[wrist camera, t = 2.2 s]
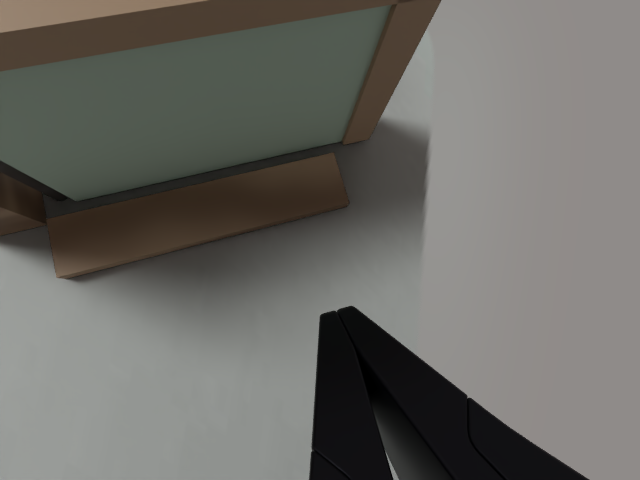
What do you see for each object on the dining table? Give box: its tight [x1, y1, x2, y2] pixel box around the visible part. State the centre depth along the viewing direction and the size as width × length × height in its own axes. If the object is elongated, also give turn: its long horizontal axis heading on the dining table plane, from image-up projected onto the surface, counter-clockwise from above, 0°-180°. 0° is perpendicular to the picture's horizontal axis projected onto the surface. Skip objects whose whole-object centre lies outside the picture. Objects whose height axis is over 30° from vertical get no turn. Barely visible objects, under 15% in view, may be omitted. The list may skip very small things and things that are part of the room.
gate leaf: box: [0, 0, 441, 201], centre depth 15 cm, size 16×2×11 cm, turn 106°
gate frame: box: [0, 152, 349, 279], centre depth 13 cm, size 6×18×14 cm, turn 106°
